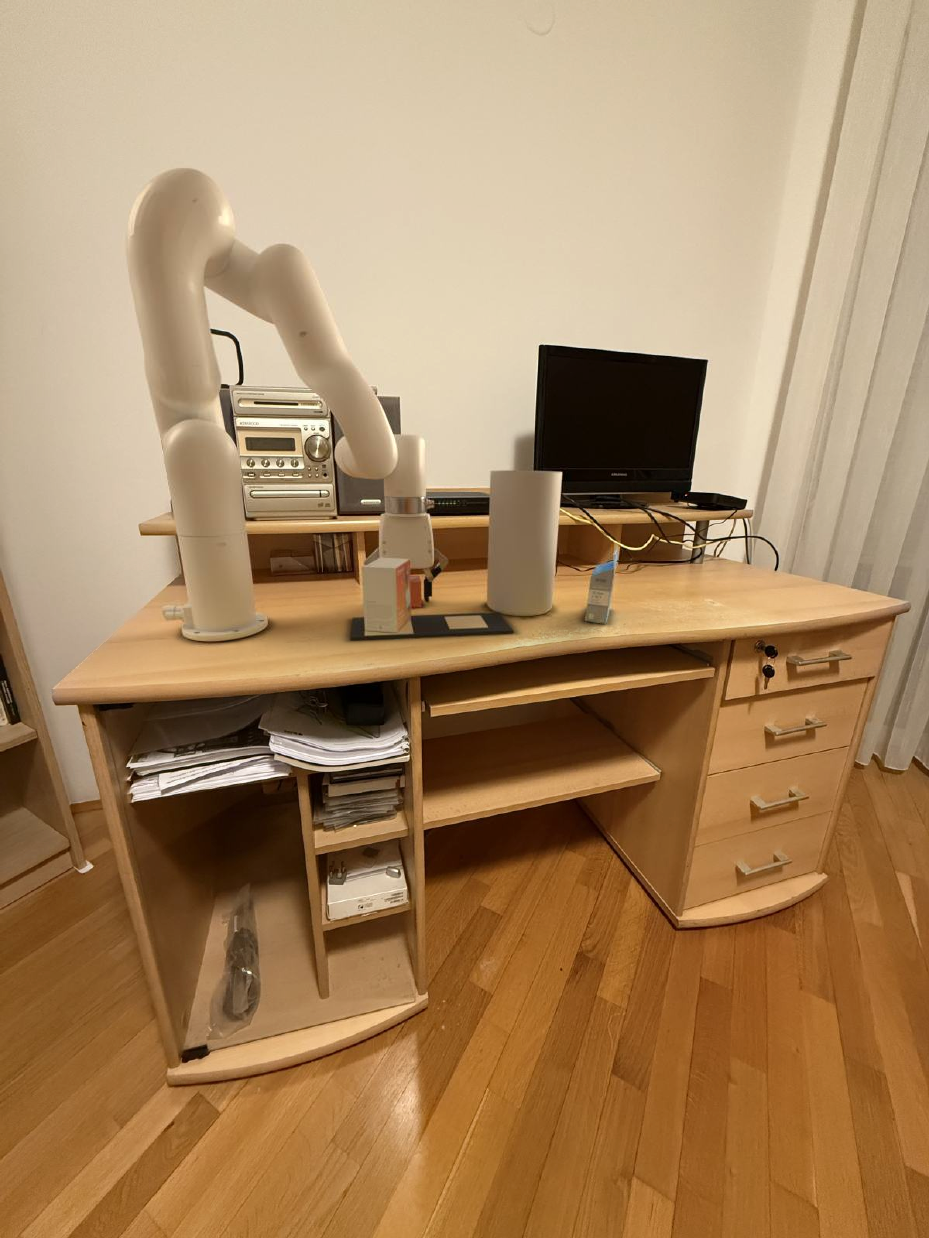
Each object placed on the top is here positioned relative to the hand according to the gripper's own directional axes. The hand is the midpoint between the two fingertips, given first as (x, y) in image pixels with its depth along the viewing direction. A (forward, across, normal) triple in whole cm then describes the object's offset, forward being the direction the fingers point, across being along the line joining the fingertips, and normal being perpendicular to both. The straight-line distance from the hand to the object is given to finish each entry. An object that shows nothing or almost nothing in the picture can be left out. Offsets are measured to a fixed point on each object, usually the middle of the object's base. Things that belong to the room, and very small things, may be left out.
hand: (407, 600), depth 95 cm
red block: (+1, 0, 0) cm, 1 cm away
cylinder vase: (+1, -21, +5) cm, 22 cm away
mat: (+1, -3, +14) cm, 14 cm away
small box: (0, +4, +14) cm, 15 cm away
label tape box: (+1, -34, +12) cm, 36 cm away
